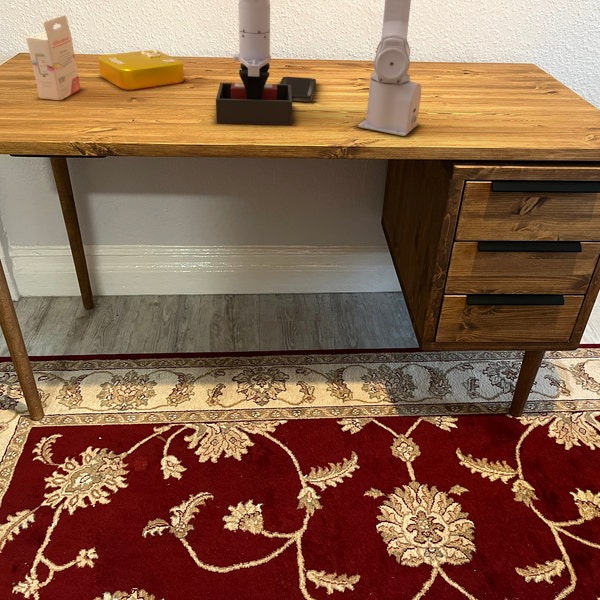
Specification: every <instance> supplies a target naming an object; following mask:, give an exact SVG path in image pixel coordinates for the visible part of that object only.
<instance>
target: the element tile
mask: <svg viewBox="0 0 600 600" xmlns="http://www.w3.org/2000/svg"><path fill="white" fill-rule="evenodd" d="M98 67H99V72H100V73H99V74H100V77H101V78H102V79H105V80H106V81H108V82H110V83H111V84H113V85H115V86H117V87H118V88H120V89H122V90H124V91H125V90H126V91H135V90H140V89H148V88H155V87H161V86H169V85H176V84H181V83H183V82H184V81H185V77H184V75H185V74H184V63H183V61H182V60H180V59H177V58H175V57H173V56H170V55H168V54H166V53H163V52H162V51H159V50H157V49H145V50H140V51H130V52H121V53H111V54H103V55H99V56H98Z"/></svg>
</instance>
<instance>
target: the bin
mask: <svg viewBox="0 0 600 600" xmlns="http://www.w3.org/2000/svg"><path fill="white" fill-rule="evenodd" d="M232 83H234V84H235V83H236V82H220V83H219V85H218V86H219V87H218V90H217V93H216V98H215V112H216V113H215V115H216V124H221V125H222V124H223V125H225V124H226V125H227V124H228V125H263V126H264V125H266V126H267V125H268V126H292V124H293V123H292V122H293V101H292V93H291V85H289V84H280V83H271V84H272V85H277V100H250V99H231V85H232Z"/></svg>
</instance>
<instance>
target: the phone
mask: <svg viewBox="0 0 600 600" xmlns="http://www.w3.org/2000/svg"><path fill="white" fill-rule="evenodd" d="M279 84H289V85H291V93H292V102H303V103H310V102H312V101H313V97H314V93H315V90H316V86H317V79H316V78H312V77H299V76H297V77H296V76H282V78H281V80H280V82H279Z"/></svg>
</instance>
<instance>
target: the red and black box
mask: <svg viewBox="0 0 600 600" xmlns="http://www.w3.org/2000/svg"><path fill="white" fill-rule="evenodd" d="M231 83H232V85H231V99H247V96H246V91H245V87H244V84H243V82H231ZM234 83H235V84H234ZM272 84H273V83H266V84H265V86H264V90H263V96H262V100H277V85H272Z"/></svg>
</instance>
